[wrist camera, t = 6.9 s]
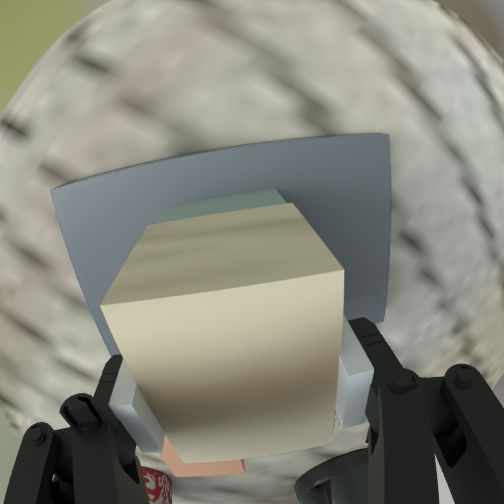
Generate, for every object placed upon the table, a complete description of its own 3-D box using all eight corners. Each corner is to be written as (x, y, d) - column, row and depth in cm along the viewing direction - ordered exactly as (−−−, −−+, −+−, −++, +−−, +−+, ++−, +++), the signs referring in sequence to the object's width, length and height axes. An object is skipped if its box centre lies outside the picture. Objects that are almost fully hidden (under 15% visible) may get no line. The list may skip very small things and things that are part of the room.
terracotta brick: (240, 420, 27) (245, 473, 21) (179, 425, 26) (175, 476, 21) (226, 362, 23) (228, 423, 18) (153, 369, 23) (141, 427, 18)
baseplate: (375, 310, 23) (407, 355, 17) (119, 349, 22) (100, 401, 17) (377, 132, 17) (427, 140, 12) (61, 185, 17) (13, 209, 12)
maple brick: (301, 350, 16) (331, 443, 11) (190, 366, 16) (183, 463, 10) (292, 202, 13) (344, 269, 7) (147, 225, 13) (99, 305, 7)
